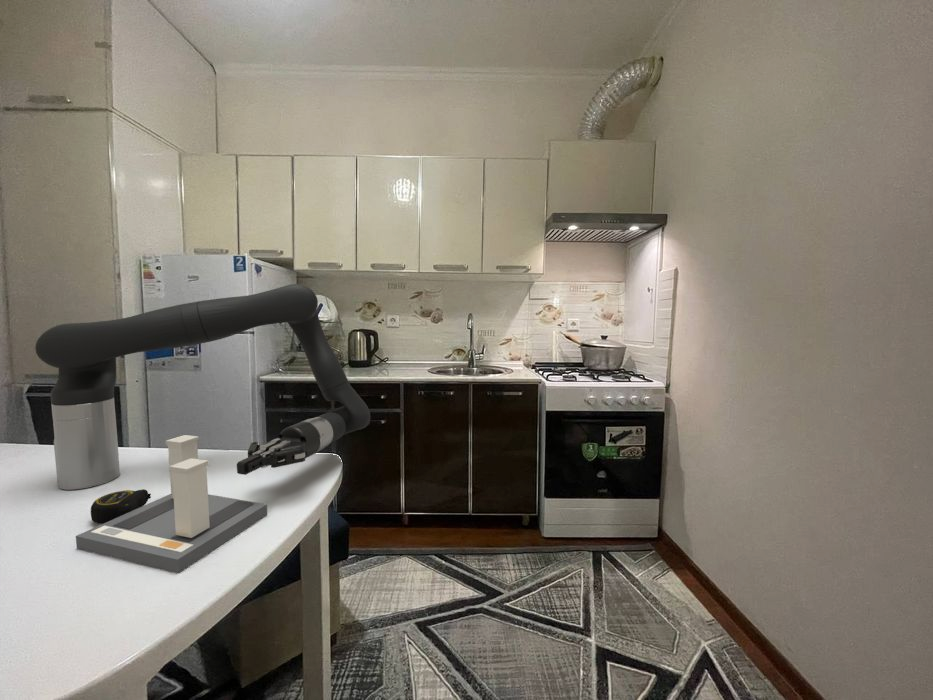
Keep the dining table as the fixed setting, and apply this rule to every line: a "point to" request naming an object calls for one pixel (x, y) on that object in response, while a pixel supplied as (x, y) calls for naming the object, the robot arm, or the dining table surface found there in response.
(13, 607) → the dining table surface
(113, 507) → the tape measure
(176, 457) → the switch tab
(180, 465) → the switch tab
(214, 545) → the switch board
